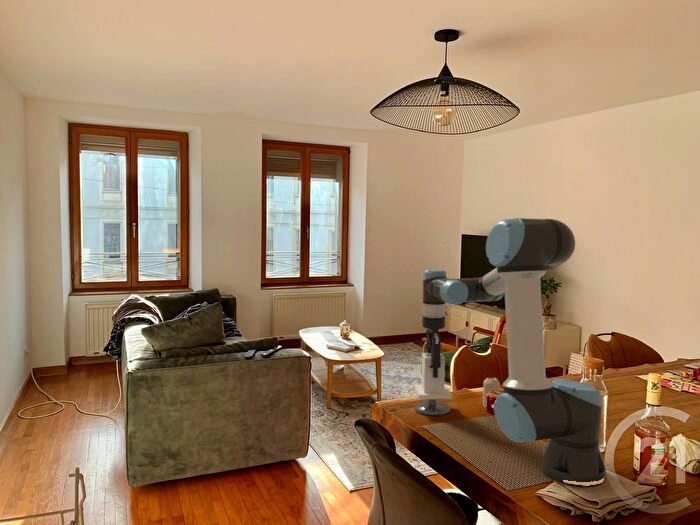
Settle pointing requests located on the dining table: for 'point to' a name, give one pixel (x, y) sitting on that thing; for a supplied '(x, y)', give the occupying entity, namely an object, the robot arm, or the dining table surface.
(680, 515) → the dining table surface
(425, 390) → the flange
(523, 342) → the robot arm
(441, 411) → the post base
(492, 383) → the candle
